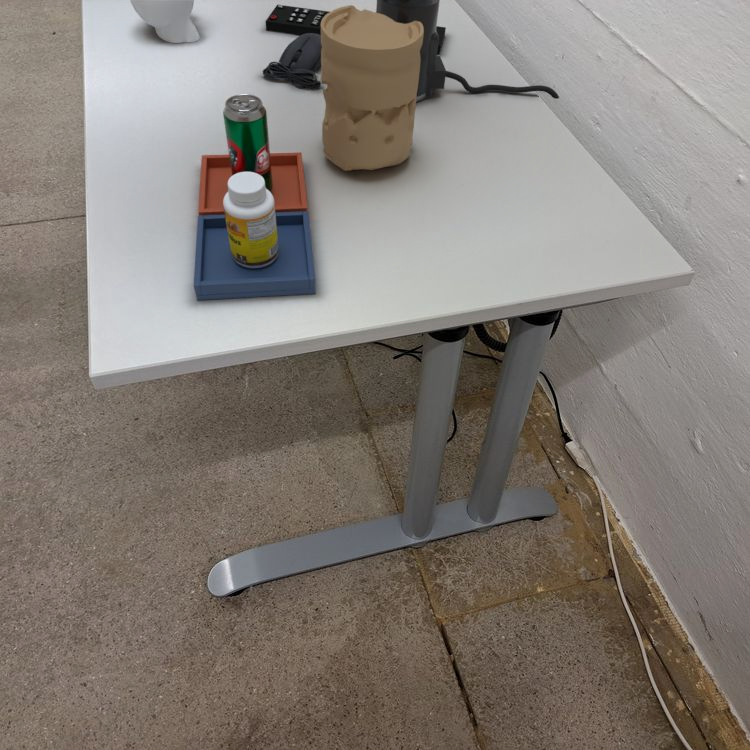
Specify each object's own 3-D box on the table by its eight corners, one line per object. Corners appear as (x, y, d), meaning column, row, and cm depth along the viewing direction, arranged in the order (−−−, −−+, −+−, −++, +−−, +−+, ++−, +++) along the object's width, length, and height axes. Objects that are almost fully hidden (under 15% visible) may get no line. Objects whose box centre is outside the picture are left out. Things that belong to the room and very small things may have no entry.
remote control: (276, 13, 120) (275, 1, 118) (444, 36, 117) (446, 24, 116) (264, 30, 115) (263, 18, 113) (439, 54, 112) (440, 43, 111)
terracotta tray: (302, 166, 89) (301, 152, 87) (308, 222, 82) (307, 207, 80) (204, 170, 88) (201, 155, 86) (201, 227, 80) (198, 212, 78)
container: (340, 126, 96) (341, -4, 82) (420, 144, 94) (435, 15, 80) (309, 171, 89) (304, 37, 75) (395, 191, 87) (407, 58, 73)
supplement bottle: (226, 245, 77) (213, 172, 69) (270, 236, 78) (263, 162, 70) (238, 275, 74) (227, 201, 66) (285, 264, 75) (279, 191, 67)
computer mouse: (350, 54, 111) (351, 31, 108) (317, 92, 102) (316, 68, 99) (297, 42, 113) (296, 19, 110) (260, 79, 104) (257, 55, 101)
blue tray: (308, 225, 81) (307, 210, 79) (315, 293, 74) (315, 279, 72) (201, 230, 80) (197, 215, 78) (197, 300, 72) (193, 285, 70)
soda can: (266, 204, 82) (257, 117, 73) (228, 198, 83) (215, 110, 73) (277, 182, 85) (271, 95, 76) (241, 176, 86) (230, 89, 76)
